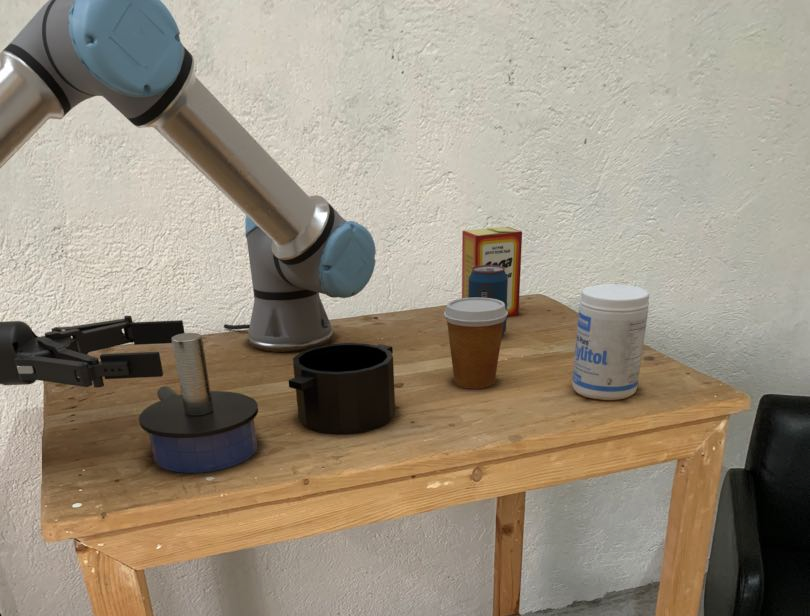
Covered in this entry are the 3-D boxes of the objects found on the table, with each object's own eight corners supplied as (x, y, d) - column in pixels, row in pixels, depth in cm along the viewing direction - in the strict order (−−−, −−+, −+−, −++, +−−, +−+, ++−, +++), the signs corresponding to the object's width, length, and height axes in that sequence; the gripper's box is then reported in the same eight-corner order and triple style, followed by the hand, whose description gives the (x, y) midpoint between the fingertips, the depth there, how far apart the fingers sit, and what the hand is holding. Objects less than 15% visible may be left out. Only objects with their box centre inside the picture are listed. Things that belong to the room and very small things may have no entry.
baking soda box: (474, 320, 155) (475, 233, 147) (461, 312, 160) (462, 228, 152) (518, 315, 158) (522, 229, 150) (504, 307, 163) (507, 224, 155)
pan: (141, 446, 106) (133, 411, 103) (234, 424, 112) (229, 390, 109) (173, 482, 96) (165, 444, 93) (273, 455, 102) (268, 419, 99)
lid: (116, 426, 101) (97, 342, 95) (207, 392, 111) (194, 314, 105) (192, 452, 93) (176, 363, 87) (282, 413, 103) (273, 331, 97)
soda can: (496, 329, 149) (498, 262, 143) (512, 338, 144) (514, 270, 138) (462, 333, 148) (462, 266, 142) (476, 343, 142) (477, 273, 136)
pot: (265, 426, 111) (257, 367, 106) (354, 387, 123) (350, 333, 119) (338, 449, 103) (333, 386, 99) (424, 405, 116) (423, 347, 112)
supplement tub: (559, 393, 119) (566, 293, 111) (591, 376, 125) (599, 280, 117) (619, 407, 113) (631, 302, 106) (649, 388, 119) (662, 288, 112)
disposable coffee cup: (502, 393, 119) (504, 313, 113) (439, 391, 121) (438, 311, 115) (507, 373, 127) (510, 297, 121) (449, 371, 129) (449, 296, 123)
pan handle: (156, 400, 114) (153, 386, 113) (171, 397, 115) (169, 382, 114) (180, 422, 106) (177, 406, 105) (195, 418, 107) (193, 403, 106)
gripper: (-61, 354, 84) (142, 346, 84) (26, 298, 105) (187, 291, 106) (-39, 421, 87) (155, 413, 88) (40, 353, 109) (196, 347, 109)
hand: (173, 346), depth 97 cm, fingers open, 13 cm apart
